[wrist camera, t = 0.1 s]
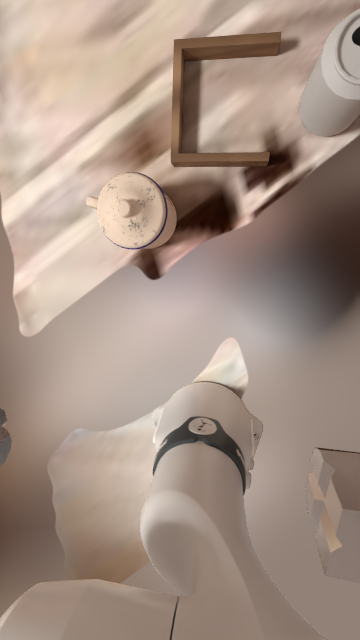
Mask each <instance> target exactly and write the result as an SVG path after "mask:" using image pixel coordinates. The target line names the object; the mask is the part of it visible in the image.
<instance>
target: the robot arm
mask: <svg viewBox="0 0 360 640" xmlns="http://www.w3.org/2000/svg"><path fill="white" fill-rule="evenodd" d="M152 419H153V425H154V430H155V434H154V437H153V442H154V443H155V448H156V452H157V454H156V457H155V461H154V467H153V479H152V482H151V485H150V488H149V491H148V494H147V497H146V500H145V503H144V506H143V509H142V512H141V518H140V533H141V538H142V542H143V545H144V548H145V550H146V552H147V555H148V557H149V559H150V561H151V562H152V564H153V566H154V567H155V569H156V570H157V571H158V573H159V574H160V575H161V576H162V577H163V578H164V579H165V580H166V581H167V582H168V583H170V584H171V585H172V586H173V587H174V588H175V589H176V590H177V591H178V592H179V593H180V597H179V596H174V595H169V594H165V593H160V592H156V591H151V590H146V589H141V588H137V587H132V586H128V585H123V584H118V583H114V582H109V581H104V580H100V579H88V580H67V581H54V582H42V583H39V584H36V585H34V586H33V587H31V588H30V589H29V590H28V591H26V592H25V593H24V594H23V595H22V596H20V597H19V598H18V599H17V600H16V602H14V603H13V604H12V605H11V606H10V607H9V609H8V610H7V611H6V612H5V613H4V614H3V616H2V617H1V618H0V640H327V639H326V638H325V637H324V636H323V635H321V634H320V633H319V632H318V631H317V630H316V629H315V628H314V627H313V626H312V625H311V624H309V623H308V622H307V621H306V620H305V619H304V618H303V617H302V616H301V614H300V613H299V612H298V611H297V610H296V609H295V608H294V607H293V606H292V605H291V604H290V603H289V601H288V600H287V599H286V598H285V596H284V595H283V594H282V593H281V591H280V590H279V589H278V587H277V586H276V584H275V583H274V582H273V580H272V579H271V577H270V576H269V574H268V573H267V571H266V570H265V568H264V566H263V565H262V563H261V561H260V559H259V558H258V556H257V554H256V552H255V549H254V547H253V545H252V542H251V539H250V536H249V532H248V528H247V522H246V515H245V509H244V498H243V496H244V493H245V489H246V488H249V487H250V483H251V474H250V473H249V472H248V471H249V469H250V470H252V469H253V465H254V461H253V457H254V454H255V451H256V449H257V446H258V443H259V440H260V437H261V435H262V432H263V425H262V423H261V421H259V420H258V419H257V418H256V417H255V416H253V415H252V414H250V413H249V411H248V410H247V408H246V407H245V405H244V403H243V402H242V400H241V399H240V398H239V397H238V396H237V395H236V394H235V393H234V392H233V391H231V390H230V389H228V388H226V387H224V386H222V385H219V384H216V383H211V382H197V383H192V384H189V385H187V386H184V387H183V388H181V389H180V390H178V391H177V392H176V393H175V394H174V395H173V396H172V397H171V398H170V400H169V401H168V402H167V403H166V404H163V405H162V406H159V407H157V408H156V409H155V410H154V411H153V414H152ZM6 422H7V419H6V415H5V411H4V410H2V409H0V467H1V465H2V464H3V463H4V462H5V461H6V459H7V456H8V454H9V452H10V449H11V437H10V434H9V432H8V431H7V430H6V429H5V428H4V425H5V423H6ZM253 432H254V433H256V434H253ZM311 464H312V466H313V470H314V471H313V472H311V473H310V474H309V475H308V476H307V482H306V504H307V510H308V514H309V518H310V521H311V522H312V523H313V524H314V525H315V526H316V528H317V529H318V532H317V537H316V545H317V548H318V552H319V556H320V559H321V563H322V567H323V570H324V574H325V576H329V577H334V578H338V579H343V580H347V581H352V582H357V583H360V453H358V452H349V451H341V450H333V449H324V448H315V449H314V451H313V452H312V457H311Z"/></svg>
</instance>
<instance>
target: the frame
mask: <svg viewBox="0 0 360 640" xmlns="http://www.w3.org/2000/svg"><path fill="white" fill-rule="evenodd" d="M280 41H281V32H273V33H259V34H245V35H231V36H217V37H204V38H190V39H176V40H174V62H173V99H172V135H171V163H172V164H173V166H174V167H245V166H267V164H268V162H269V154H270V152H259V153H181V149H182V121H183V92H184V63H185V61H195V60H211V59H228V58H244V57H261V56H277V54H278V50H279V46H280Z"/></svg>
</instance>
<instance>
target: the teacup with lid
mask: <svg viewBox="0 0 360 640" xmlns="http://www.w3.org/2000/svg"><path fill="white" fill-rule="evenodd" d="M86 204H87V205H88V206H89V207H92V208H96V209H97V217H98V221H99V224H100V227H101V229H102V231H103V232H104V234H105V235H106V236H107V238H108V239H109V240H110V241H112V242H113V243H114V244H116V245H118V246H120V247H122V248H126V249H140V248H156V247H159V246H161V245H163V244H164V243H166V242H167V241H168V240H169V239H170V238H171V236H172V235H173V233H174V230H175V227H176V222H177V215H176V210H175V207H174V205H173V203H172V201H171V200H170V198H169V197H168V196H167V195H166V194H165V193H163V191H162V190H161V188H160V187H159V186H158V184H157V183H156V182H155V181H154V180H152V179H151V178H150V177H148V176H146V175H144V174H141V173H136V172H127V173H123V174H120V175H117V176H115V177H114V178H112V179H111V180H110V181H109V182H108V183H107V184H106V185H105V186H104V188H103V189H102V191H101V193H100V195H99V198H95V197H88V198H87V201H86Z"/></svg>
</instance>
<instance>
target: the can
mask: <svg viewBox="0 0 360 640" xmlns="http://www.w3.org/2000/svg"><path fill="white" fill-rule="evenodd" d="M299 113H300V118H301V121H302V123H303V125H304V126H305V127H306V128H307V129H308V130H309V131H310V132H311V133H313V134H315V135H318V136H332V135H336V134H339V133H340V132H342V131H344V130H345V129H347V128H348V127H349V126H350V125H351V124H352V123H353V122H354V120H355V119H356V118H357V117H358V116H359V115H360V8H359V9H358V10H356V11H355V12H353V13H351V14H350V15H348V16H347V17H346V18H344V19H343V20H341V21H340V22H339V23H338V25H337V26H336V27H335V28H334V29H333V31H332V32H331V33H330V35H329V37H328V39H327V41H326V43H325V46H324V48H323V50H322V52H321V54H320V56H319V59H318V61H317V63H316V65H315V67H314V69H313V72H312V74H311V76H310V78H309V80H308V82H307V85H306V87H305V89H304V91H303V93H302V96H301V99H300V104H299Z"/></svg>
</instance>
